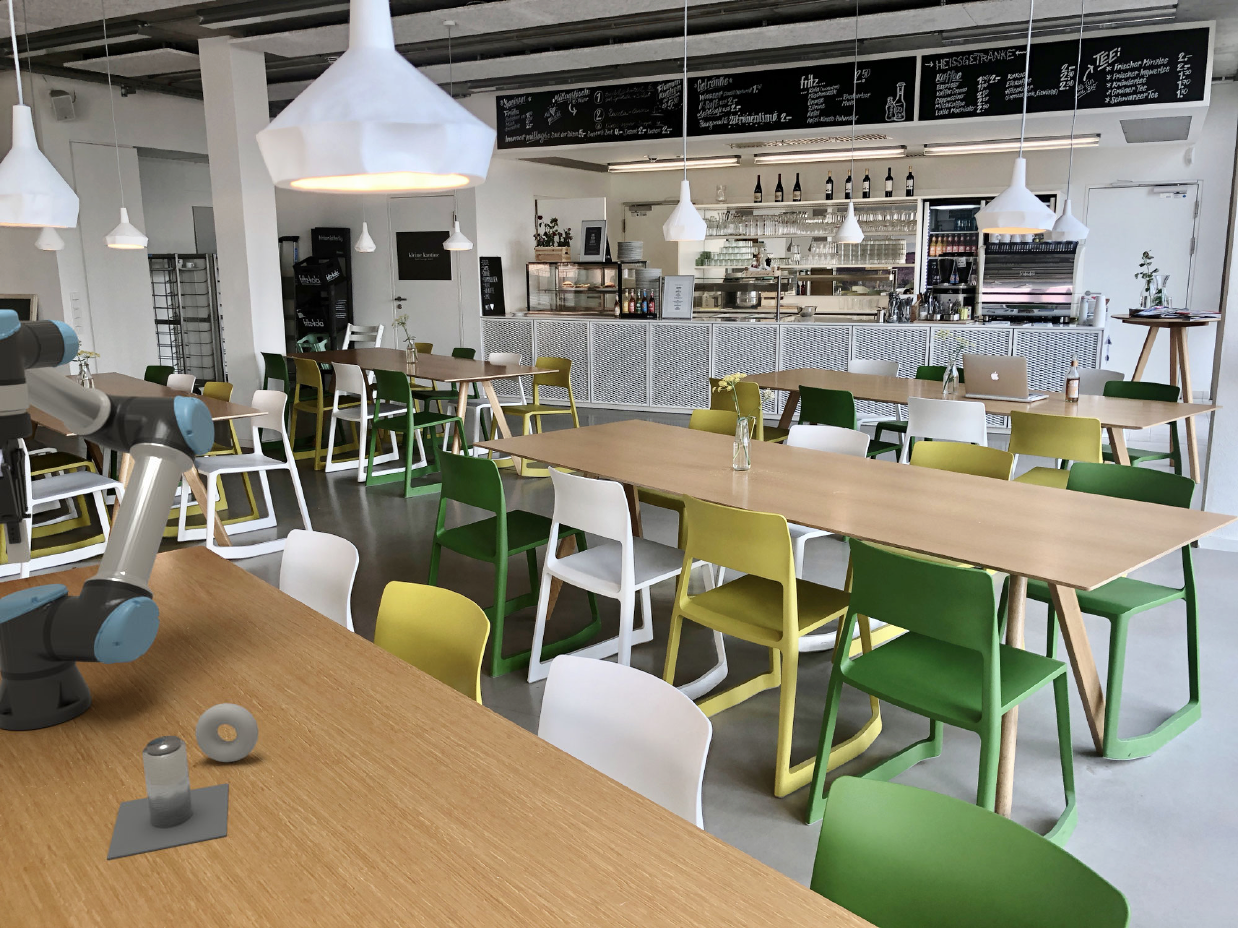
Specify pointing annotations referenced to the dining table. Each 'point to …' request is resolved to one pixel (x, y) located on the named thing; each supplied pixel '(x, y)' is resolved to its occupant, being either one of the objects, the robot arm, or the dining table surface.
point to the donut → (222, 748)
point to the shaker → (167, 782)
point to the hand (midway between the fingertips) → (19, 561)
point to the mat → (142, 837)
